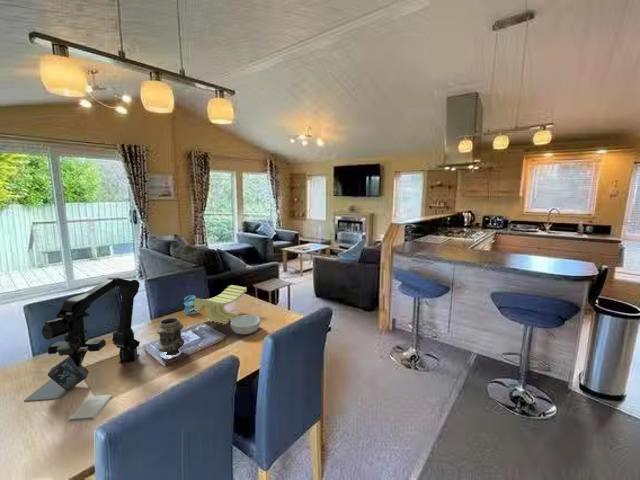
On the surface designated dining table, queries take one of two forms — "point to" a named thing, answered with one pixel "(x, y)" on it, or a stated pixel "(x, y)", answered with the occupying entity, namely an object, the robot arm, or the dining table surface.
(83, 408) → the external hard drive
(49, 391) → the mat
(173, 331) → the apothecary jar
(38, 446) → the dining table surface
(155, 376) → the dining table surface
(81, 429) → the dining table surface
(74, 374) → the box
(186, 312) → the blue patterned cup
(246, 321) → the cereal bowl
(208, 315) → the slatted curved stool
